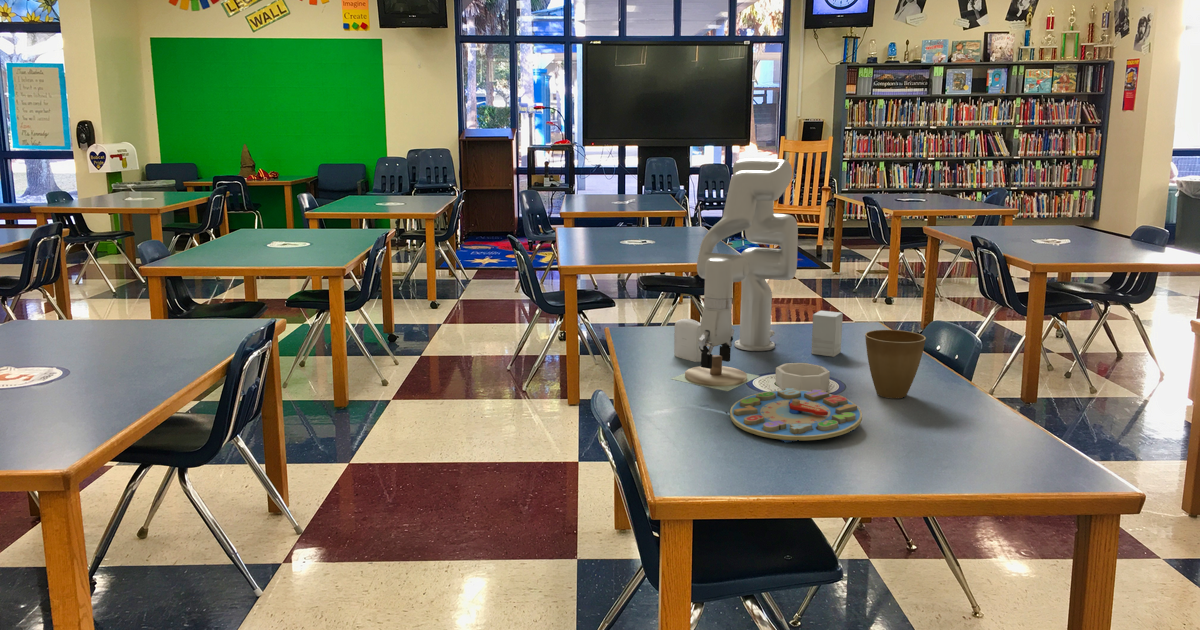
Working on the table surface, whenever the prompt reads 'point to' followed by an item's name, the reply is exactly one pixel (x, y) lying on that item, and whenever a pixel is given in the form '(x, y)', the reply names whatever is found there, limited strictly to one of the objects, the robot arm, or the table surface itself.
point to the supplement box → (827, 333)
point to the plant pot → (893, 360)
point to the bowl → (802, 376)
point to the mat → (725, 388)
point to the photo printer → (687, 340)
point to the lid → (716, 374)
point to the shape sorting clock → (796, 414)
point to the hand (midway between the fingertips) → (715, 364)
